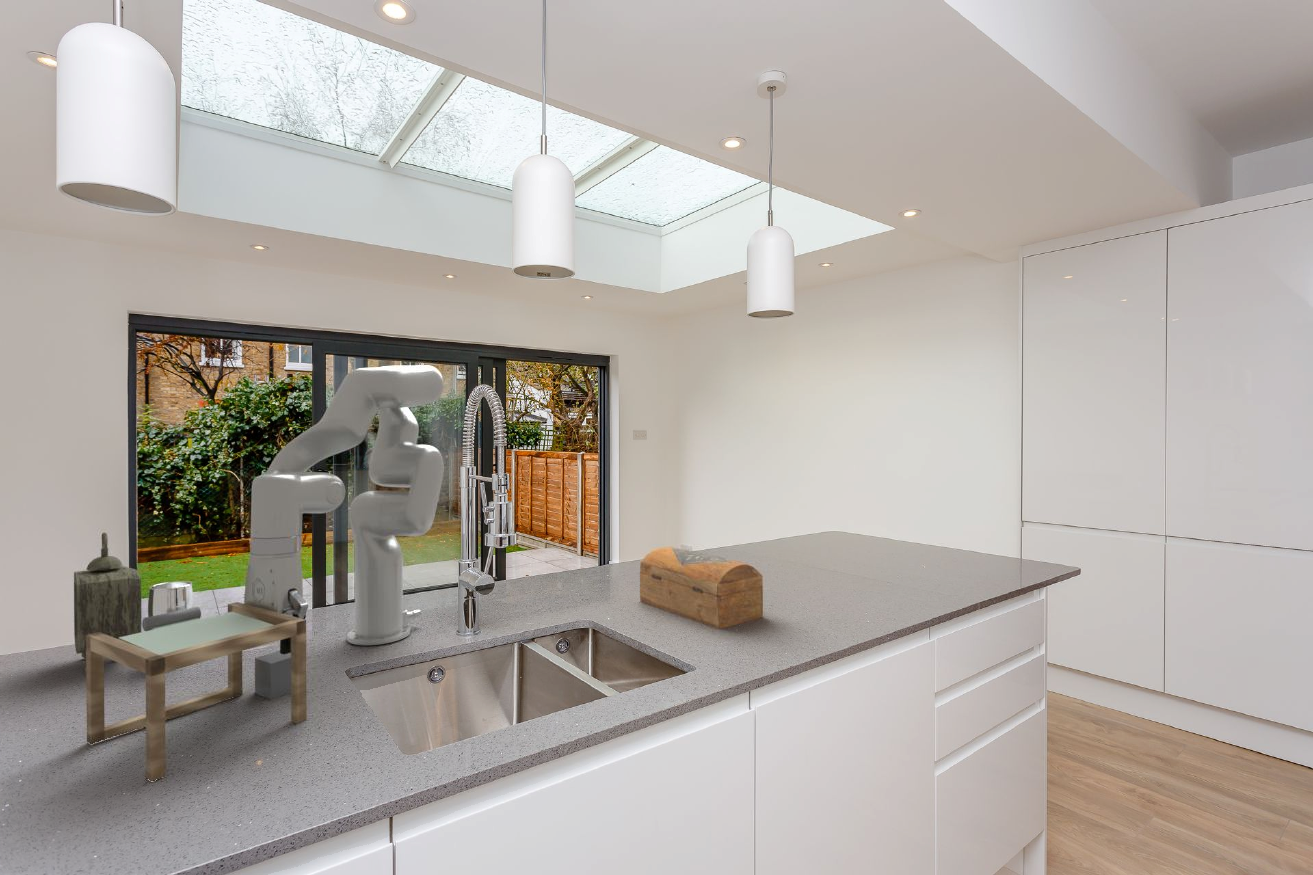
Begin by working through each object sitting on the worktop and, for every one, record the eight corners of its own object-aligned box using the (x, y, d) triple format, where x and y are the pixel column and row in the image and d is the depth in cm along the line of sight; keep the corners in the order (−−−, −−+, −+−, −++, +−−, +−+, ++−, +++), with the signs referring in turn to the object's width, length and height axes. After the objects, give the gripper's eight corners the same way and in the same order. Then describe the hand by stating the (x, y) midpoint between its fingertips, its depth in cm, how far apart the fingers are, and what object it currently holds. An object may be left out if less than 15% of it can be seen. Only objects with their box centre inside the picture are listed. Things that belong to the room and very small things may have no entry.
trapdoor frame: (237, 692, 107) (237, 601, 107) (306, 719, 97) (306, 619, 97) (86, 743, 90) (85, 634, 90) (151, 782, 80) (150, 660, 80)
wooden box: (767, 617, 151) (767, 560, 151) (716, 630, 141) (717, 569, 141) (686, 592, 175) (686, 542, 175) (638, 602, 165) (638, 549, 165)
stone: (284, 682, 111) (284, 649, 111) (301, 688, 109) (301, 654, 109) (255, 693, 107) (254, 658, 107) (271, 699, 105) (271, 663, 105)
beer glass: (140, 671, 117) (140, 590, 116) (159, 658, 123) (158, 581, 123) (184, 667, 118) (183, 588, 118) (200, 654, 125) (199, 579, 125)
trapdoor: (222, 614, 105) (222, 599, 105) (280, 633, 96) (280, 617, 96) (108, 640, 92) (109, 623, 92) (164, 665, 83) (164, 647, 83)
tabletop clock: (74, 658, 123) (73, 531, 123) (134, 647, 130) (133, 526, 129) (77, 679, 113) (76, 540, 113) (142, 665, 119) (141, 534, 119)
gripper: (225, 545, 109) (223, 645, 108) (282, 553, 100) (280, 662, 99) (270, 540, 115) (268, 634, 115) (327, 547, 106) (325, 649, 106)
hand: (274, 647), depth 107 cm, fingers open, 9 cm apart
